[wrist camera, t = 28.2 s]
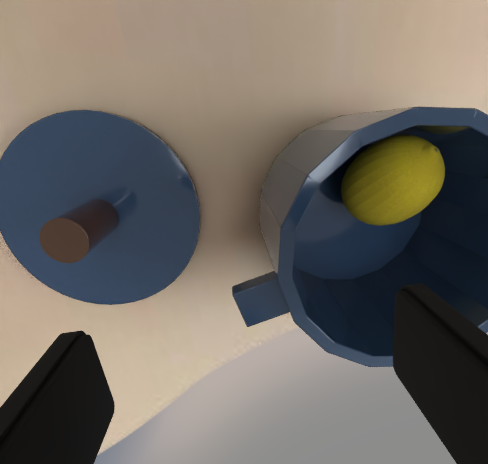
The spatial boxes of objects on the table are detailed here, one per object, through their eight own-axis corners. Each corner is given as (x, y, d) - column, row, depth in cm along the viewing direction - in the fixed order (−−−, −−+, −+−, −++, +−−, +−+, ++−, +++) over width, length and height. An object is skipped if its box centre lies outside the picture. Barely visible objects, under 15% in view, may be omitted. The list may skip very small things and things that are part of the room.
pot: (202, 170, 25) (184, 198, 15) (446, 72, 23) (607, 30, 13) (264, 315, 29) (282, 410, 19) (471, 240, 28) (606, 302, 18)
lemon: (379, 248, 24) (477, 208, 17) (316, 224, 23) (391, 170, 16) (384, 190, 26) (473, 132, 19) (327, 166, 26) (397, 95, 18)
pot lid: (-40, 158, 24) (-138, 168, 17) (148, 76, 22) (116, 56, 16) (71, 321, 29) (25, 376, 22) (229, 261, 27) (230, 301, 21)
